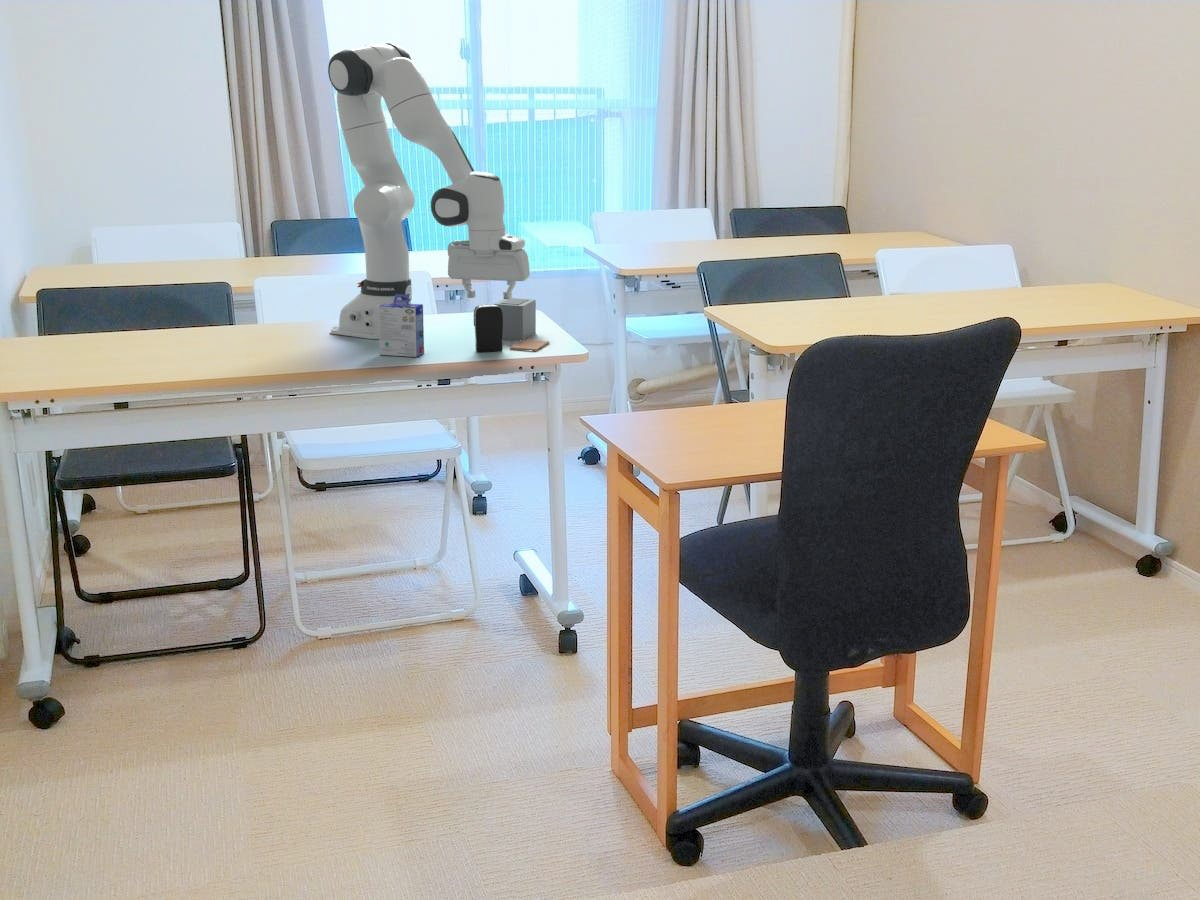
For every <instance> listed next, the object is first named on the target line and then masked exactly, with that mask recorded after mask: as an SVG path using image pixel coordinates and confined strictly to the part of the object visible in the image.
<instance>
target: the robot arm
mask: <svg viewBox="0 0 1200 900" xmlns="http://www.w3.org/2000/svg"><path fill="white" fill-rule="evenodd" d="M327 72H328V73H327V75H328V77H329V81H330V84H331V85H332V87H333V89H334V90H335V91H336V92H337V93H336V104H337V105H336V106H337V112H338V116H339V118H338V119H339V122H340V127H341V131H342V135H343V137H344V141H345V146H346V149H347V153H348V157H349V159H350V163H351V164H352V166H353V167H354V168H355V170H356V172H357V173H358V175H359V177H360V179H361V182H362V184H363V186H364V187H363V188H361V190H359V192H358V194H356V195H355V198H354V200H353V212H354V214H355V216H356V218H357V219H358V224H359V229H360V233H361V238H362V241H363V246H364V255H365V257H364V258H365V277H366V278H364V279H363V280H361V281H360V282H358V283H357V288H360V293H359V294H357V295H356V296H355V297H353V299H351V300H350V301H349V302H348V303H347V304H345V305H344V306H343V307H342V308H341V310H340V313H339V319H338V324H335V325H334V326H332V327H331V328H330V333H331V334H333V335H341V336H348V337H353V338H362V339H369V340H379V319H378V306H380V305H382V304H384V303H394V299H395V295H396V294H408V295H409V304H412V297H413V295H412V294H413V291H412V289H413V288H412V287H413V286H412V279H411V278H410V255H409V254H410V253H409V247H408V245H407V243H406V239H405V235H404V229H403V225H402V221H404V220H405V219H407V218H408V217H409V215H410V214H411V213H412V211H413V209H414V207H415V194H414V192H413V190H412V188H411V187H410V185H409V184H408V182H407V180H406V177H405V174H404V172H403V169H402V168H401V165H400V163H399V160H398V158H397V157H396V154H395V151H394V150H395V149H394V147H393V144H392V140H391V136H390V133H389V129H388V125H387V122H386V118H385V114H384V111H383V109H382V108H383V107H382V104H381V103H382V98H383V100H384V102H385V106H386V107H387V110H388V113H389V115H390V118H391V120H392V123H393V124H394V126H395V128H396V130H397V131H398V132H399V134H400V135H401V137H402V138H404V139H406V140H407V141H409V142H410V143H414V144H416V145H419V146H422V147H423V148H425V149H427V150H429V151H430V152H432V153H433V154H434V155H436V157H437V158H438V159H439V161H440V162H441V164H442V166H443V168H444V170H445V172H446V173H447V176H448V178H449V179H450V181H451V183H452V184H450V185H446V186H444V187H441V188H439V189H437V190H436V191H435V192H434V193H433V195H432V197H431V199H430V200H431V201H430V211H431V214H432V217H433V218H434V220H435V221H436V222H437V223H438V224H439V225H441V226H443V227H453V228H454V227H459V226H460V227H461V226H465V225H467V230H468V231H467V232H468V240H453V241H451V242H450V243H448V245H447V256H448V263H447V275H448V277H449V278H450V279H451V280H461V282H462V283H461V284H462V285H463V287H464V289H465V291H466V292H467V293H466V294H467V296H466V297H467V298H468V299H474V298H476V289H473V288H472V286H471V285H470V283H471V281H473V280H476V281H501V282H503V281H504V282H505V281H506V285H507V286H508V288H507V290H506V291H503V292H502V293H503V294H502V295H503V299H511V298H513V295H512V294H513V293H512V292H513V291H514V288H515V286H516V283H517V282H525V281H527V280H528V279H529V277H530V272H531V271H530V263H529V262H530V261H529V256H528V254H527V251H526V250H525V249H524V248H525V247H526V246H525V245H526V241H525V239H523V238H521V237H519V236H515V235H512V234H510V233H507V232H506V226H505V223H504V222H505V221H504V213H505V197H504V188H503V184H502V181H501V179H500V177H499V176H498V175H496V174H494V173H491V172H488V171H475V169H474V168H473V166H472V164H471V162H470V160H469V158H468V156H467V154H466V153H465V151H464V149H463V147H462V145H461V143H460V141H459V139H458V137H457V136H456V134H455V133H454V131H453V130H452V129H451V126H450V125H449V124H448V122H447V121H446V120H445V118H444V117H443V115H442V113H441V111H440V109H439V107H438V106H437V103H436V101H435V99H434V97H433V95H432V92H431V90H430V88H429V86H428V83H427V82H426V80H425V78H424V77H423V75H422V73H421V71H420V70H419V69H418V67H417V66H416V63H415V62H414V61H412V58H411V55H410V53H409V52H408V51H407V49H406V48H405V47H403V46H402V45H399V44H397V43H396V44H395V43H388V42H387V43H384V44H381V43H380V44H366V45H363V46H360V47H355V48H352V49H344V50H341V51H339V52H337V53H335V54H333V55H332V56H331V58H330V60H329V62H328V67H327ZM406 299H407V298H405V297H398V298H397V300H406Z"/></svg>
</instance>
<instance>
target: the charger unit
mask: <svg viewBox="0 0 1200 900" xmlns="http://www.w3.org/2000/svg"><path fill="white" fill-rule="evenodd" d="M536 303H537V301H536V299H533V298H532V299H530V298H520V297H519V298H516V297H512V298H511V299H504V298H503V299H501V300H499V301H497V302H495V303H492V305H497V306H499V307H501V309H502V311H503V337H502V340H507V339H510V340H509V341H520V340H523V339H525V340H527V339H528V338H530V337H532V336H534V335H535V334H536V333H537V331H536V330H537V329H536V327H537V326H536V325H537V323H536V322H537V321H536V320H537V317H536V313H537V312H536V310H537V307H536V306H537V304H536ZM533 334H534V335H533ZM526 338H527V339H526Z"/></svg>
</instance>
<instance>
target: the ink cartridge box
mask: <svg viewBox="0 0 1200 900" xmlns="http://www.w3.org/2000/svg"><path fill="white" fill-rule="evenodd" d="M398 297H405V298H407V299H406V300H397V298H398ZM378 319H379V339H378V343H379V344H378V347H379V348H378V349H379V355H380V356H393V357H409V358H410V357H412V358H417V357H419V356H422V355H425V335H424V334H425V331H424V329H425V327H424V326H425V325H424V304H423V303H411V304H409V295H408V294H396V295H395V299H394V303H384V304H382V305H380V306H378Z"/></svg>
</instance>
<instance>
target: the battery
mask: <svg viewBox="0 0 1200 900" xmlns="http://www.w3.org/2000/svg"><path fill="white" fill-rule="evenodd" d="M473 326H474V334H475V335H474V336H475V352H477V353H491V352H502V351H503V350H504V349H503V347H504V346H503V339H502V337H503V311H502V309H501V307H499V306H497V305H493V304H480V305H477V306H475V308H474V309H473Z"/></svg>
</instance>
